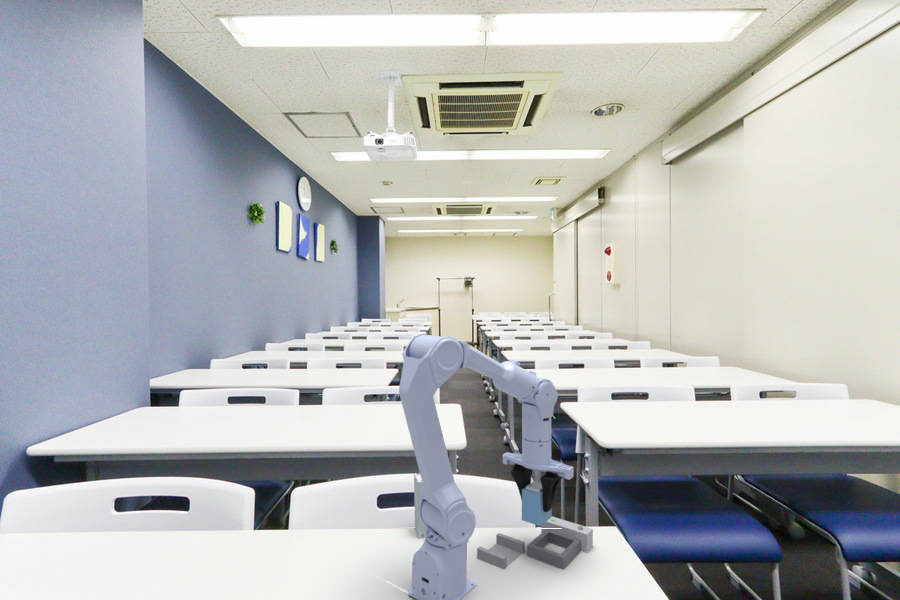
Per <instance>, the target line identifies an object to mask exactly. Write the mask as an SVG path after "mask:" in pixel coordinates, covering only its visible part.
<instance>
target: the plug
mask: <svg viewBox="0 0 900 600" xmlns="http://www.w3.org/2000/svg"><path fill="white" fill-rule="evenodd" d="M552 509H553V506H552V507H551V510H549V511H548V512H544V510H543V490H542V484H541V481H540V482H539V481H535V480H534V481H531V484H529V485H527V486H526V487H525V488H523V489H522V500H521V521H522V522H525V523H530V524H531V525H535V526H538V527H541V525H542V524H544V523H545V522H546V521H547V520H549V519H550V518H551V517H553V515H552V514H553V510H552Z"/></svg>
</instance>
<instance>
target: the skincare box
mask: <svg viewBox="0 0 900 600" xmlns="http://www.w3.org/2000/svg"><path fill="white" fill-rule="evenodd" d="M422 487H423V483H422V479H421V475H420V472H416V473H414V474H413V488H414V489H413V490H414V492H413V493H414V494H413V495H414V529H415V531H416V534H417V538H418V539H425V537H426V531H425V523H424V522H422V520H421V518H420V516H419V506H420V496H419V490H420V489H421V488H422Z"/></svg>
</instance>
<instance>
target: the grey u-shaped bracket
mask: <svg viewBox="0 0 900 600" xmlns="http://www.w3.org/2000/svg"><path fill="white" fill-rule="evenodd" d="M495 536H496V542H495V544H493V545H492V546H491V547H490V548H488V549H487V548H485V547H482V546H479V547H477V548H476V558H477V560H480V561H483V562H486V563H488V564H490V565H493V566H495V567H496V568H497V567H498V568H499V569H503V570H505V569H506V568H507V567H508V566H509V565H511V564H512V563H513V562H514V561H516V559H518V558H519V557H520V556H521V555H522V554H524V553H525V549H526V548H525V547H526V544H525V543H526V542H525V541H523V540H520V539H517V538H514V537H511V536H509V535H506V534H503V533H500V532H498V533H497V534H496V535H495Z"/></svg>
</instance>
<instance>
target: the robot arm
mask: <svg viewBox="0 0 900 600" xmlns="http://www.w3.org/2000/svg"><path fill="white" fill-rule="evenodd" d="M401 353H402V359H403V367H402V372H401V376H400V383H399V386H398V393H399V399H400V402H401V405H402V408H403V414H404V418H405V421H406V425H407V428H408V432H409V436H410V439H411V444H412V448H413V452H414V456H415V459H416V463H417V467H418V471H419V473H420V475H421V479H422V483H423V487H422V488H421V489H420V490H419V496H420V506H419V516H420V518H421V520H422V522H424V523H425V531H426V537H425V538H424V541H423V543H422V545H421V546H420V548H419V549H418V550H417V551H416V552H415V553H414V555H413V557H412V562H411V563H412V567H411V574H412V575H411V577H412V578H411V589H410V590H408V593H407V594H408V596H410V597H412V598H414V599H415V600H462V598H464V597H465V596H466V595H467V594H469V593H470V592H472V591H473V590H474V589H475V588H476V587H477V586H478V583H476V582H475V581H473V580H471V579H468V577H467V576H468V574H467V573H468V570H467V569H468V544H467V543H469V540H470V539H471V537H472V536H473V534H474V531H475V529H476V524H477V521H476V515H475V513H474V511H473V510H472V509H471V508H470V507H469V505H468V503H467V500H466V497H465V495H464V494H463V492H462V490H461V489H460V488H459V487H458V485H457V483H456V481H455V479H454V478H455V477H454V475H453V470H452V467H451V462H450V459H449V455H448V450H447V447H446V446H447V445H446V442H445V438H444V435H443V431H442V426H441V422H440V418H439V414H438V410H437V406H436V402H435V400H434V396H435V394H436V392H437V390H439V388H441V386H442V385H444V383H446V382H447V381H448V380H449V379H450V378H451V377H452V376H453V375H454V374H455V373H456V372H457V371H458V370H459V369H462V370H463V369H465V368H468V369H469V370H472V371H474V372H476V373H478V374H481V375H483V376H484V377H487V378H490V379H492V384H493V386H494V387H495V389H496V390H499V391H501V392H503V393H505V394H507V395H509V396H511V397H514V398H515V399H516V400H517V401H518V403H519V404H521V437H522V438H521V453H513V452H508V451H507V452H505V453H503V454H502V464H503V465H506V466H507V465H512V466H513V468H512V469H511V470H510V475H511V476H512V478H513V480H514V482H515V484H516V486H517V489H518V492H519V496H520V500H521V501H522V489H523V488H525V487H526V486H527V485H529V484H531V483H532V476H533V475H532V474H533V470H534V471H537V472H542V473H545V474H544V475H542V476H540V478H539V479H540V483H541V484H542V490H543V510H544V512H548V511H549V510H551V507H552V508H553V502H554V497H555V494H556V491H557V489H558V487H559V484H560V482H561V480H562V479H563V478H564V479H565V480H569V481H570V480H572V479H573V478H574V466H572V465H568V464H564V463H562V462H560V461H557V460H554V459H552V417H553V415H554V410H555V409H554V407H555V405H556V404H557V401H558V398H559V392H558V391H557V389H556V387H555V385H554V384H553V382H552V381H551V380H550V379H547V378H540V377H538V376H537V372H535V371H533V370H532V371H531V370H529V371H528V370H527V369H524V368H523V367H521V362H519V361H517V360H509V361H508V360H506V361H502V362H501V363H500V362H499V361H497V360H496V359H493V358H492V357H490V356H488V355H487V354H486V353H484V352H482V351H480V350H479V349H478V348H476V347H474V346H473V345H470V344H468V343H467V342H465V341H462V340H458V339H457V338H455V337H453V336H450V335H449V336H448V335H444V336H439V335H438V336H437V335H429V334H426V333H421V334H417V335H414V336H413V337H411V339H410V341H409V342H408V343H407V345H406V347H405V348H404V349H403V351H402V352H401Z"/></svg>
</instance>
